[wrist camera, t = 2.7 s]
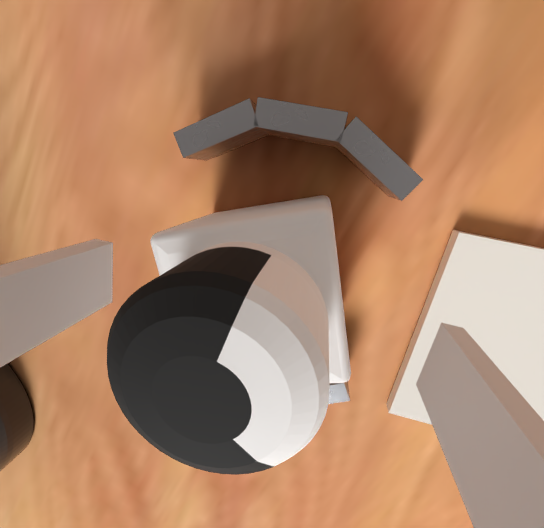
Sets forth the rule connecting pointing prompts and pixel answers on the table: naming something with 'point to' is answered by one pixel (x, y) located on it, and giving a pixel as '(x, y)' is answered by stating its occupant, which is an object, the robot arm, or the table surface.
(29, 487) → the table surface
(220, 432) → the medicine bottle
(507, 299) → the tile
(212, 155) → the cradle
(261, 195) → the table surface
